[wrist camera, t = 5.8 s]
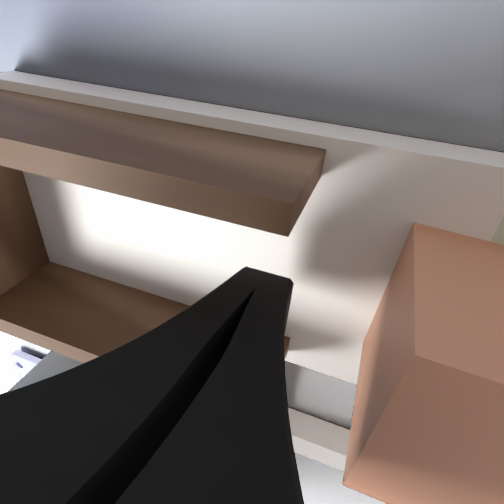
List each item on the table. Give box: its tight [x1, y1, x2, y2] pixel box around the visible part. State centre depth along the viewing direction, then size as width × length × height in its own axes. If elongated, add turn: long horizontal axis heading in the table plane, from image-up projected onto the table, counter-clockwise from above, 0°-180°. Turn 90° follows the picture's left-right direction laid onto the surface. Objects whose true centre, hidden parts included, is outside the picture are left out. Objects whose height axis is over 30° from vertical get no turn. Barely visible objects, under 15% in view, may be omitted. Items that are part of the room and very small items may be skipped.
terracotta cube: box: [342, 222, 504, 504], centre depth 8 cm, size 4×4×4 cm
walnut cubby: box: [0, 89, 326, 363], centre depth 11 cm, size 7×11×3 cm
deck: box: [0, 71, 504, 472], centre depth 14 cm, size 14×20×1 cm
